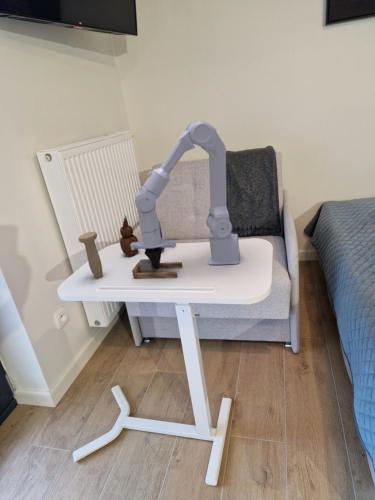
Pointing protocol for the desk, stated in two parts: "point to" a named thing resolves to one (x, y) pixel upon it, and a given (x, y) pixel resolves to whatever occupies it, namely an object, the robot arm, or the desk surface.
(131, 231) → the wooden figurine
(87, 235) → the handle
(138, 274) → the channel
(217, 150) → the robot arm
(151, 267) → the grey cube
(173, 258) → the desk surface
